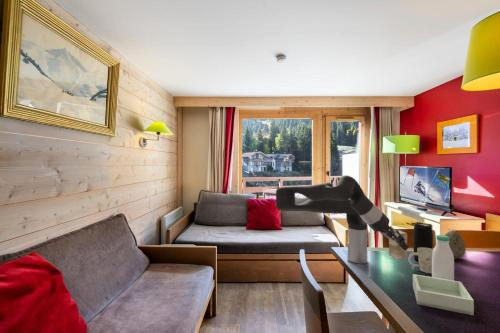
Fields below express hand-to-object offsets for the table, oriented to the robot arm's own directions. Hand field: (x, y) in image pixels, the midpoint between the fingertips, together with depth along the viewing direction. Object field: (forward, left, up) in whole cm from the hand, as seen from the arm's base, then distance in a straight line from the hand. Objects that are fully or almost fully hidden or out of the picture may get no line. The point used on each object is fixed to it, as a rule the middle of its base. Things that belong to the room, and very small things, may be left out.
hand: (402, 246), depth 105 cm
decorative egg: (+27, +55, -18) cm, 64 cm away
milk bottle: (+16, +17, -18) cm, 30 cm away
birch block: (-2, -1, -4) cm, 5 cm away
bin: (+12, -1, -18) cm, 22 cm away
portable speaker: (+12, +44, -18) cm, 49 cm away
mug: (+10, +28, -18) cm, 35 cm away
